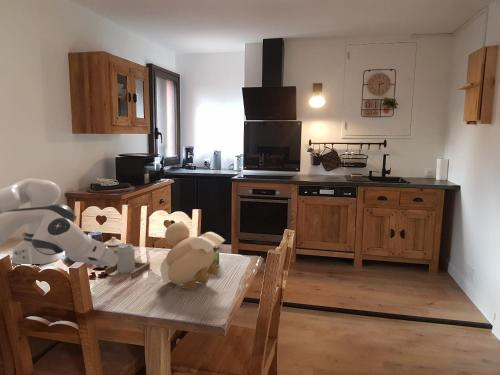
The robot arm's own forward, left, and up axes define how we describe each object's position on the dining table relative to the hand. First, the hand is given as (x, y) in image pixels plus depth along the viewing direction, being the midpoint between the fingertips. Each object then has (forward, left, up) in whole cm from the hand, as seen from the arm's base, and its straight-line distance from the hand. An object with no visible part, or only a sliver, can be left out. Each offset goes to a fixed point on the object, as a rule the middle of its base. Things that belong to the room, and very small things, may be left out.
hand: (101, 265), depth 149 cm
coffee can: (+30, +38, -9) cm, 49 cm away
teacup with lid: (-14, +29, -9) cm, 34 cm away
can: (-1, +17, -9) cm, 20 cm away
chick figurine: (+33, +11, -9) cm, 36 cm away
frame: (0, +17, -8) cm, 19 cm away
